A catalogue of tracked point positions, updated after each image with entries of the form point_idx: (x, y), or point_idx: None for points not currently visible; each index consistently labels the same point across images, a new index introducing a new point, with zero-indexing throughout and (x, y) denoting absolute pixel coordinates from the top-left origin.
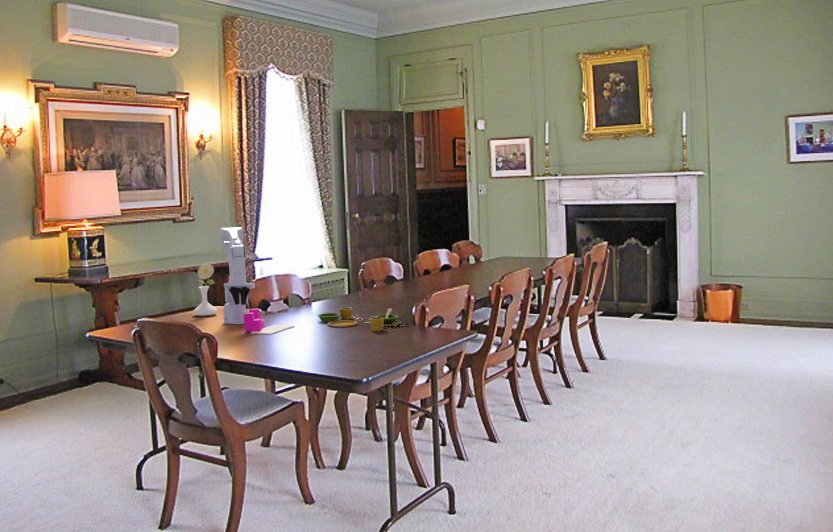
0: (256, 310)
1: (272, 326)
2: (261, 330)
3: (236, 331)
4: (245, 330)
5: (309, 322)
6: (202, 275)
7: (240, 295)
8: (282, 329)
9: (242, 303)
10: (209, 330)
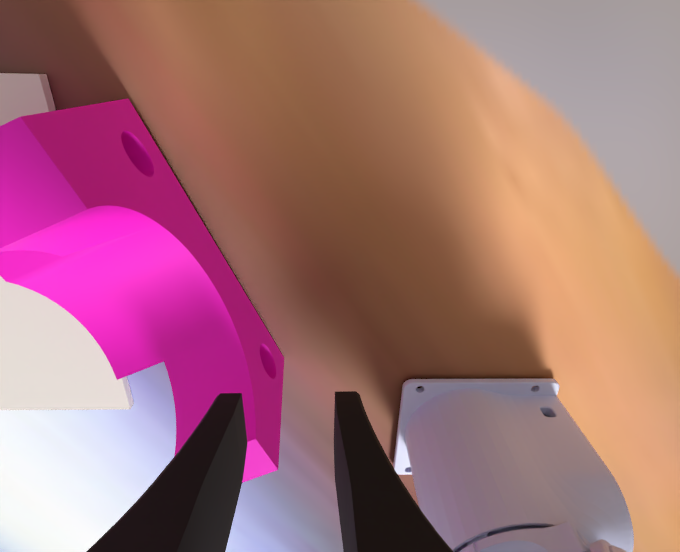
0: None
1: (84, 355)
2: None
3: (260, 136)
4: (117, 100)
5: (13, 524)
6: None
7: (185, 524)
8: None
9: (212, 405)
10: (550, 113)
